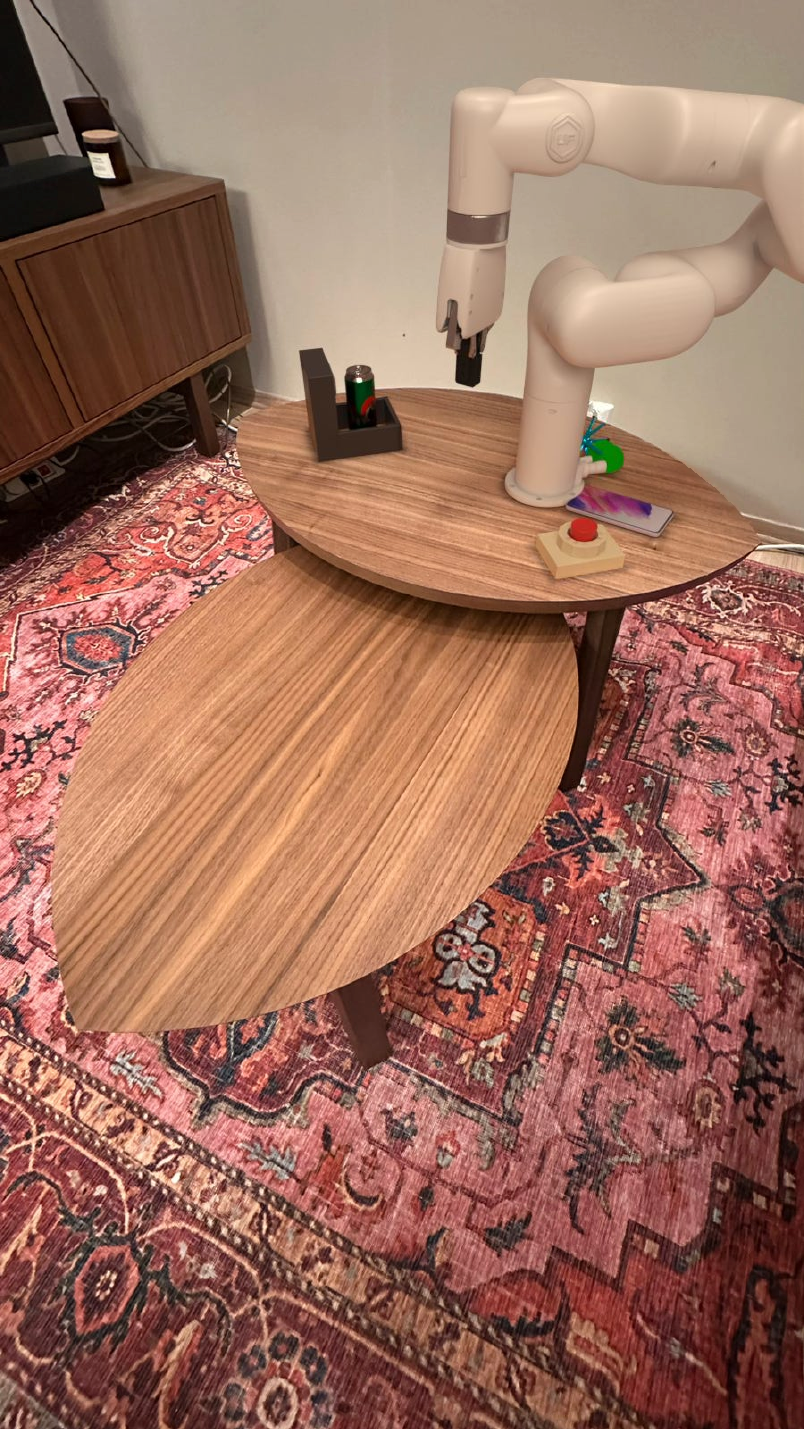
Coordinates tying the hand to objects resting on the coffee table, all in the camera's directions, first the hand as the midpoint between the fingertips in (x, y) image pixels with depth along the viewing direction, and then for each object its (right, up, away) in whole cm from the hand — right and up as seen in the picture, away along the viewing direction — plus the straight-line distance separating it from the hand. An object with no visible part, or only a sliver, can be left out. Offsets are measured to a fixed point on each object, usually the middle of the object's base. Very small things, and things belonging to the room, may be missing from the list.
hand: (467, 383), depth 96 cm
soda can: (-16, +3, +27) cm, 31 cm away
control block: (+16, -24, +2) cm, 29 cm away
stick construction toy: (+23, -4, +20) cm, 30 cm away
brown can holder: (-18, +3, +27) cm, 32 cm away
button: (+16, -22, -1) cm, 27 cm away
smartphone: (+24, -16, +9) cm, 30 cm away
